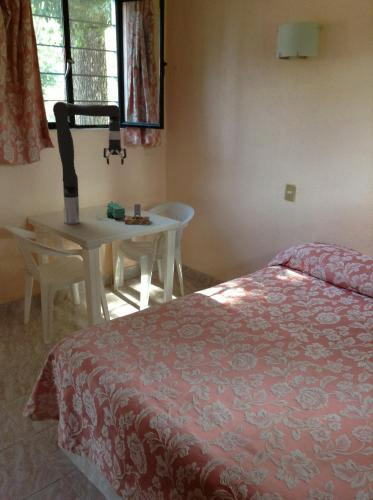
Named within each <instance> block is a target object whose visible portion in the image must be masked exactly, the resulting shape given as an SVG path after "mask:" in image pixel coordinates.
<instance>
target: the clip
mask: <svg viewBox="0 0 373 500" xmlns="http://www.w3.org/2000/svg"><path fill="white" fill-rule="evenodd" d="M141 205H142V204H141V203H134V204H133V206H134V207H133V212H134V214H133V216H134V219H137V216H139V219H141V216H142V215H141V212H142V211H141V209H142V208H141V207H142V206H141Z"/></svg>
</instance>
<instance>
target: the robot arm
mask: <svg viewBox="0 0 373 500" xmlns="http://www.w3.org/2000/svg"><path fill="white" fill-rule="evenodd" d="M52 111H53V115H54V120H55V124H56V136H57V137H56V138H57V145H58V153H59V156H60V161H61V167H62V183H63V184H62V185H63V190H62V191H63V205H64V207H63V220H64V221H63V222H64V223H66V224H67V225H73V224H74V225H75V224H79V223H80V221H81V220H80V205H79V204H80V202H79V201H80V200H79V179H78V178H79V177H78V175H77V173H76V167H75V147H74V146H75V145H74V140H73V139H74V138H73V135H72V132H71V128H70V125H69V117H70V116H71V117H72V116H83V117H85V116H86V117H107V118H108V120H109V122H108V147H104V148H103V156H102V157H103V158H105V159H106V164H107V165H108V166H109V165H110V157H111V156H119V157H120V158H121V160H120V163H121V164H120V165H121V166H123V165H124V163H125V162H124V161H125V160H124V159H126V158H127V148H126V147H124V148H122V141H121V139H122V135H121V122H120V121H121V110H120V107H119V106H118V105H116V104H96V103H95V104H94V103H93V104H91V103H90V104H75V103H69V102H65V101H56V102H55V103H54V105H53V106H52ZM107 151H108V153H109V154H108V155H107ZM121 152H123V154H122V153H121Z"/></svg>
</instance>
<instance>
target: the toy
mask: <svg viewBox="0 0 373 500" xmlns="http://www.w3.org/2000/svg"><path fill="white" fill-rule="evenodd" d="M105 207H106V208H107V209H106V212H105V213H106V217H107V218H109V216H113V218H114V219H121V218H124V216H125V213H126V210H125V207H122V206H121V205H120V204H119V203H118V202H113V201H111V202H109V203H107V206H105Z"/></svg>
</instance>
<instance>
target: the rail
mask: <svg viewBox="0 0 373 500" xmlns="http://www.w3.org/2000/svg"><path fill="white" fill-rule="evenodd" d="M150 218H151V216H146V215H143V216H142V215H141V219H139V215H137V219H134V215H132V216H131V215H126V216H125V218H124V225H150V221H151V220H150Z"/></svg>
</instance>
